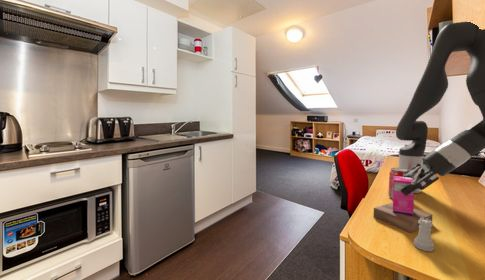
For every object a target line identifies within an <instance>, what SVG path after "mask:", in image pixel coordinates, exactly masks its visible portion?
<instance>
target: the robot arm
mask: <svg viewBox="0 0 485 280" xmlns="http://www.w3.org/2000/svg"><path fill="white" fill-rule="evenodd" d="M464 51H465V52H466V53H467V54H468V56H469V59H470V66H469V69H468V72H467V75H466V78H465V85H466V88H467V90H468V93H469V96H470V98H471V100H472V101H473V103H474V105H476V106H477V107H478V109H479V111H480V113H481V116H482V120H481V121H480V122H478V123H477V124H475V125H474V126H473V127H470V128H469V129H465V130H464V131H461V132H459V133H458V134H456V135H455V136H454V137H452V138H450V139H449V140H448V141H446V142H443V144H440V145H439V146H438V147H436V148H434V149H433V150H432V151H430V152H429V153H427V154H426V155H424V154H425V151H426V149H427V148H426V146H427V140H428V132H429V131H428V130H429V129H428V125H427V123H426V122H425V121H423V120H418V119H419V118H420V117H422V116H423V115H424V114H426V113H427V112H428V111H430V110H432V109H433V108H434V107H435V106H437V105H438V104H440V102H441V101H442V99H443V97H444V95H445V93H446V92H447V90H448V87H449V79H448V77H447V73H446V65H447V62H448V59H449V58H450V56H451V54H452V53H455V52H456V53H457V52H464ZM424 69H425V70H424V72H423V74H422V76H421V78H420V80H419V82H418V84H417V87H416V88H415V91H414V93H413V96H412V97H411V100H410V103H409V104H408V107H407V108H406V111H405V112H404V113H403V115H402V117H401V119H400V121H399V122H398V124H397V126H396V129H395V130H396V131H395V135H396V138H397V139H398V140H400V141H407V142H408V141H411V142H410V144H408V145H406V146H403V147H400V148H399V151H398V166H397V168H404V169H408V170H407V171H406V172H404V173H403V174H404V175H403V176H404V177H409V178H413V179H414V180H413V181H412V182H411V184H408V185H407V186H405V187H404V188H402V189H401V192H402V193H403V194H404V195H406V196H407V195H408V194H410V193H411V192H413V191H414V194H421V192H422V191H423V190H425V189H426V188H429V186H431V185H432V184H434V183H436V181H439V179H440V177H445V176H446V175H448V174H449V173H451V172H453V171H454V170H456V169H457V168H458V167H460V166H462V165H463V164H465V163H466V162H467V161H469V159H471V158H473V157H474V156H475V155H476V154H479V153H480V152H482V151H484V149H485V30H481V29H479V27H478V26H477V25H475V24H473V23H471V22H467V21H461V22H452V23H448V24H446V25H444V26H443V27H442V28H441V30H440V31H439V32H438V34H437V36H436V39H435V41H434V44H433V47H432V50H431V53H430V57H429V59H428V62H427V65H426V66H425V68H424ZM438 175H439V176H440V177H439V176H438Z"/></svg>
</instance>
